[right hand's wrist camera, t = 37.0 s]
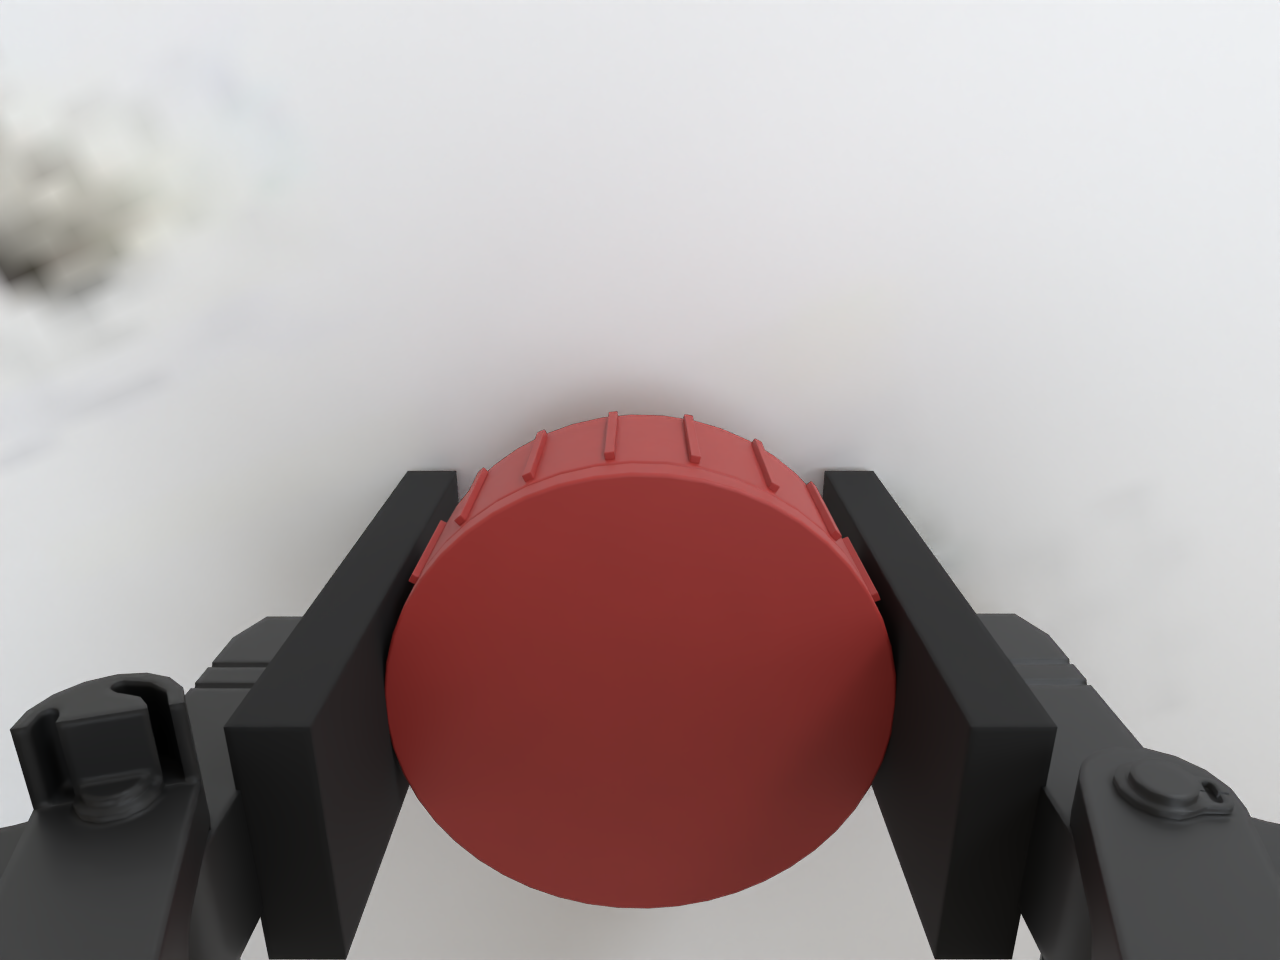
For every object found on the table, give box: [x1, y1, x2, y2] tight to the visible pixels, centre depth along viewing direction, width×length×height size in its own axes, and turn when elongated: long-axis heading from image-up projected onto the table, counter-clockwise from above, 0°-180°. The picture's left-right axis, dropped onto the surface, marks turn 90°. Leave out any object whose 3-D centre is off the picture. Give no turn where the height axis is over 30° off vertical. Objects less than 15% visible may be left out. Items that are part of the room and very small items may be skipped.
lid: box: [385, 411, 896, 908], centre depth 11 cm, size 6×6×2 cm
